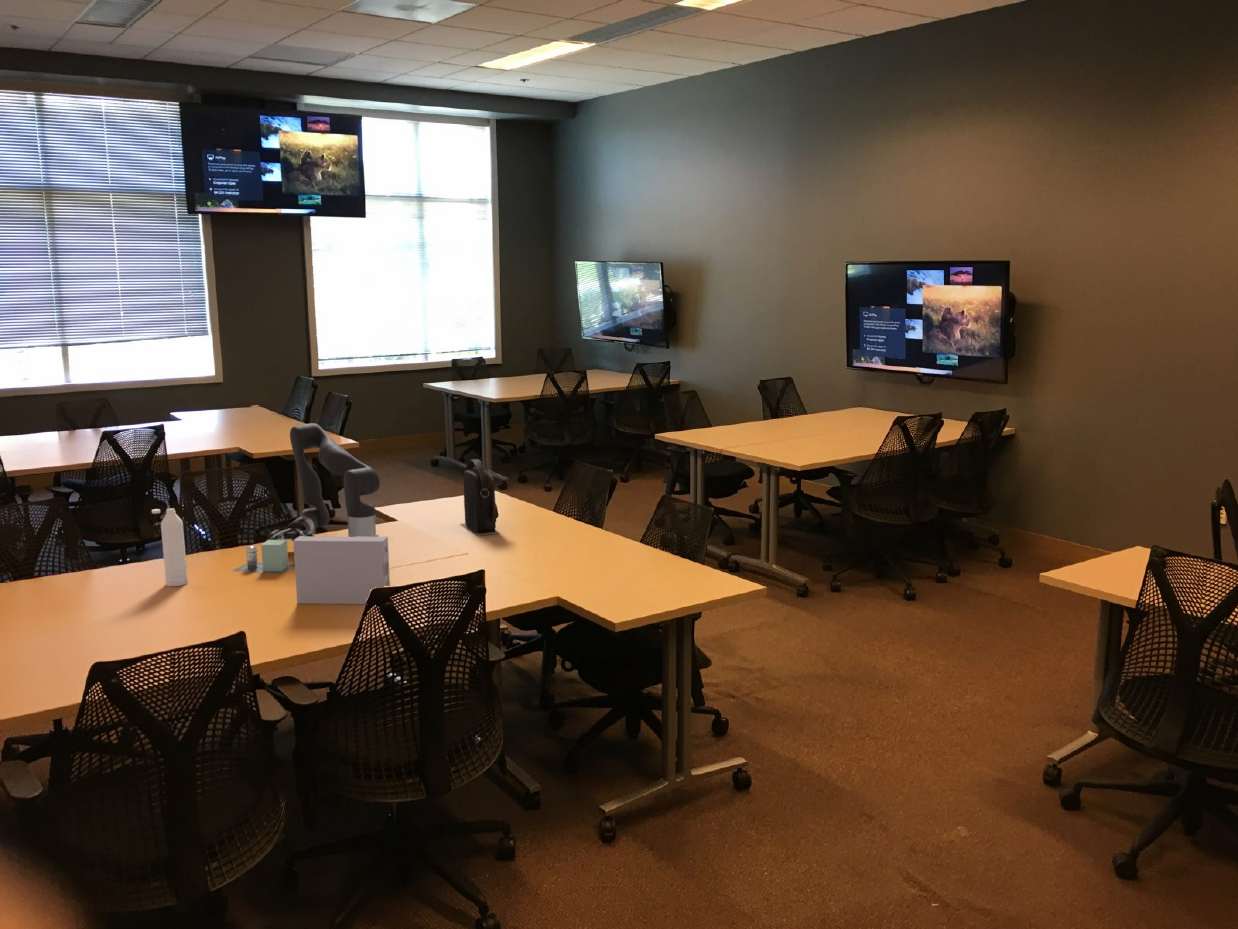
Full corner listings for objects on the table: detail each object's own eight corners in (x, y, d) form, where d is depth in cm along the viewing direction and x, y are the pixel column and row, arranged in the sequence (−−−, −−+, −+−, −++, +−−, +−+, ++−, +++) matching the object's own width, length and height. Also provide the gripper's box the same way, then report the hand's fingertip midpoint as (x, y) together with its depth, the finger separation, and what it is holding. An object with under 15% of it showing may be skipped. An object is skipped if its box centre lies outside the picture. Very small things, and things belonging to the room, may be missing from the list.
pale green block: (288, 565, 335) (286, 539, 333) (282, 571, 329) (280, 544, 327) (269, 565, 335) (268, 539, 333) (262, 571, 329) (261, 544, 327)
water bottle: (187, 579, 324) (181, 505, 319) (188, 585, 318) (182, 509, 314) (158, 583, 320) (151, 508, 316) (158, 588, 314) (151, 512, 310)
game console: (303, 598, 306) (299, 535, 302) (390, 598, 305) (388, 536, 301) (296, 604, 300) (292, 540, 296) (385, 605, 299) (382, 541, 295)
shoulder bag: (458, 523, 399) (456, 455, 394) (479, 521, 403) (478, 453, 398) (478, 536, 379) (476, 464, 374) (500, 533, 384) (499, 462, 378)
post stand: (298, 568, 336) (296, 544, 335) (281, 578, 326) (279, 553, 324) (249, 566, 340) (247, 542, 338) (231, 575, 329) (229, 550, 327)
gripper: (280, 518, 357) (264, 530, 341) (319, 519, 357) (305, 530, 341) (281, 538, 358) (265, 551, 342) (320, 539, 358) (306, 551, 342)
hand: (285, 540), depth 342 cm, fingers open, 8 cm apart
